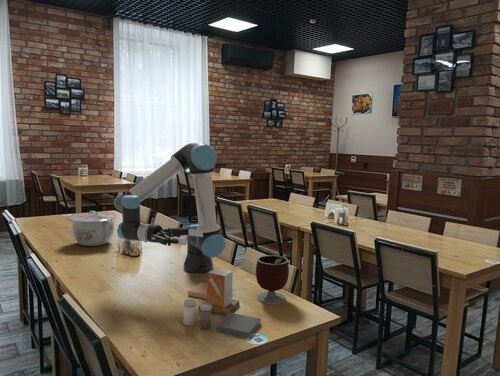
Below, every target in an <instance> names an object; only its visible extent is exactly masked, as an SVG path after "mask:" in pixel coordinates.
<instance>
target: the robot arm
mask: <svg viewBox="0 0 500 376" xmlns="http://www.w3.org/2000/svg"><path fill="white" fill-rule="evenodd" d="M217 160H218V157H217V152H216V150H215V149H214V148H213V147H212V146H211V145H210V144H208V143H207V144H206V143H199V142H190V143H188V144H186V145H184V146H182V147H181V148H180V149H178V150H177V151H176V152H175V153H173V154H172V155H171V156H170V158H169V160H168V161H166V162H165V163H163V164H162V165H161V166H160V167H159V168H157V169H156V170H155V171H153V172H152V173H150V174H149V175H148V176H147V177H145V178H144V179H142V180H141V181H139V183H137V184H136V185H135V186H133V187H132V188H131V189H129V190H128V191H127V192H125V193H124V194H120V195H117V197H116V198H115V199H114V201H113V205H114V207H115V209H116V210H117V211H118V212H120V213H121V217H122V222H120V223H119V224H118V225H117V229H116V233H117V236H118V237H119V238H120V239H122V240H127V241H139V242H144V243H145V244H146V243H156V244H157V243H158V244H160V245H163V246H168V247H171V246H172V245H179V246H186V247H187V249H186V250H187V251H186V257H185V260H184V262H183V270H184V271H186V272H188V273H193V274H196V273H197V274H202V273H208V272H210V271H211V270H213V269H214V263H213V259H214V258H217V257H219V256H221V255H222V253H223V252H224V251H225V248H226V247H227V246H226V238H225V237H224V236H223V235H222V231H221V226H220V225H219V224H217V223H218V222H217V214H216V212H217V211H216V206H215V204H216V203H215V197H214V195H215V193H214V185H213V174H214V173H215V165H216V163H217ZM186 170H189V171H188V172H189V175H190V176H192V178H193V185H194V186H193V187H194V196H195V204H196V211H197V213H196V214H197V219H198V220H197V221H198V223H197V224H190V225H188V226H187V227H168V228H164V229H163V227H162V226H161V225H159V224H151V223H150V224H149V223H142V222H141V202H143V201H144V200H145V199H146V198H148V197H149V196H151V195H152V194H153V193H154V192H156V191H157V190H159V189H160V188H161V187H162V186H164V185H165V184H166V183H168V181H170V180H171V179H173V178H174V177H175V176H177V175H178V174H180V173H183V172H186ZM180 236H186V238H185V237H180ZM212 258H213V259H212Z"/></svg>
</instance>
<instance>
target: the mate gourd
mask: <svg viewBox="0 0 500 376" xmlns="http://www.w3.org/2000/svg"><path fill="white" fill-rule="evenodd" d="M289 275H290V266H289V259H288V258H287V257H284V256H280V255H272V254H270V255H269V254H267V255H261V256H258V258H257V261H256V266H255V279H256V282H257V284H258V285H259V287H260V288H261V289H263V290H266V291H263V292H261V293H259V294H257V296H256V300H257V301H258V302H260V303H262V304H265V305H280V304H283V303H285V302H286V301H287V297H286V295H285V294H283V293H280V292H278V291H280V290H282V289H284V287H285V286H286V285H287V284H288V280H289ZM276 291H277V292H276ZM285 300H286V301H285Z"/></svg>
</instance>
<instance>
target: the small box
mask: <svg viewBox="0 0 500 376" xmlns="http://www.w3.org/2000/svg"><path fill="white" fill-rule="evenodd" d="M206 283H207V299H206V300H207V303H210V304H211V305H215V306H219V307H223V308H225V307H226V306H228V305H229V304H230V303H232V299H233V271H230V270H225V269H220V268H213V269H212V270H211V271H208V272H207V282H206Z"/></svg>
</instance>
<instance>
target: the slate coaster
mask: <svg viewBox="0 0 500 376" xmlns="http://www.w3.org/2000/svg"><path fill="white" fill-rule="evenodd" d="M261 321H262V319H261V318H260V317H254V316H249V315H244V314H239V313H234V312H231V313H230V314H229V315H228V316H227V317H224V318H223V319H222V320H221V322H218V324H217V325H216V332H218V333H224V334H229V335H233V336H236V337H241V338H247V339H248V338H249V337H251V336H252V334H253V333H254V332H255V331H256V330H257V329H258V327H259V326H260V325H261Z"/></svg>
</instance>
